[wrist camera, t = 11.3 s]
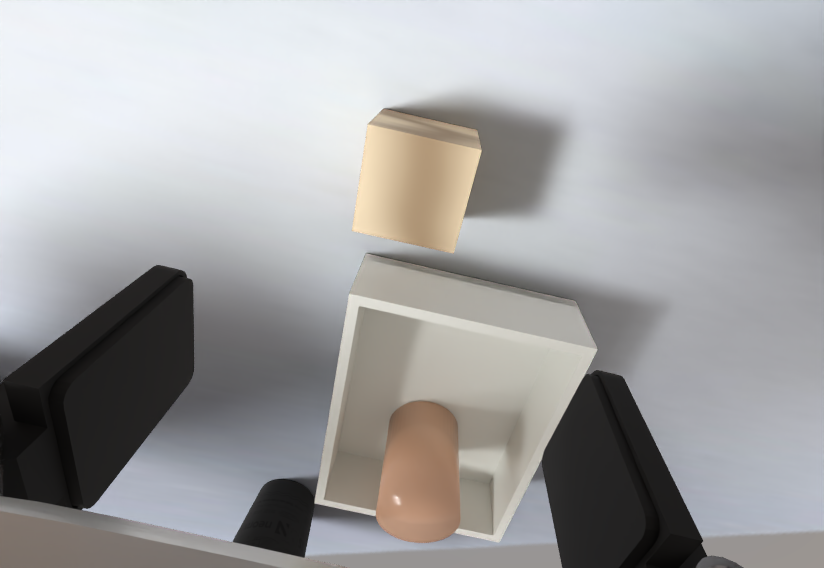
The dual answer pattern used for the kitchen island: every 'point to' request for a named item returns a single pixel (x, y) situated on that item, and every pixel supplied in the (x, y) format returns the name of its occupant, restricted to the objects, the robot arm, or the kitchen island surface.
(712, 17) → the kitchen island surface
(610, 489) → the robot arm
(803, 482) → the kitchen island surface
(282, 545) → the drinking cup
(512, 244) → the kitchen island surface
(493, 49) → the kitchen island surface
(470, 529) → the tote
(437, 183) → the cube
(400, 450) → the cylinder
